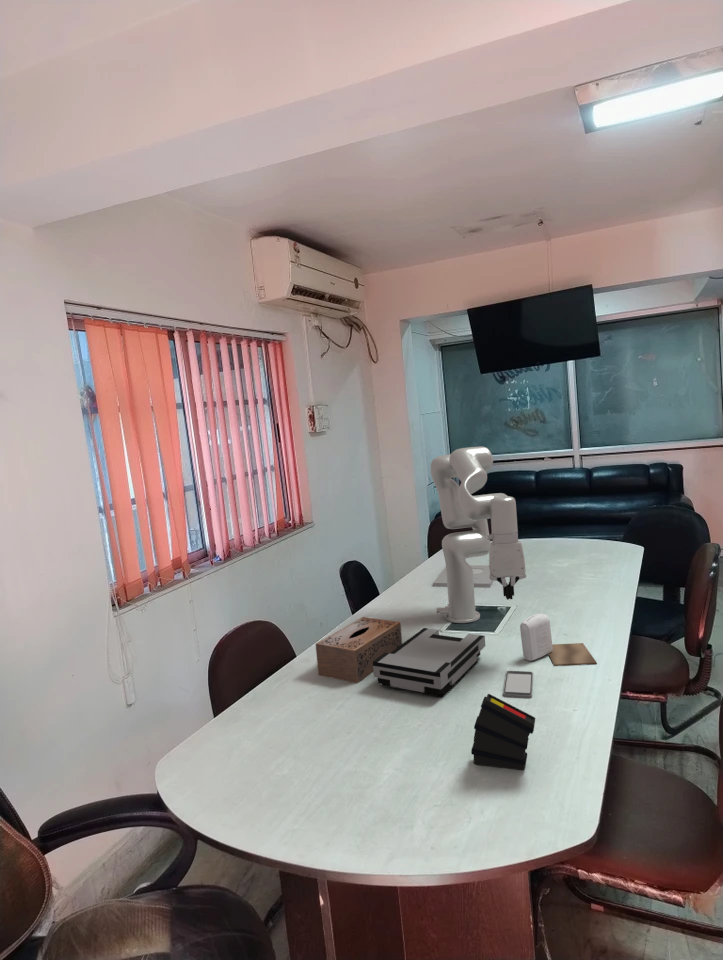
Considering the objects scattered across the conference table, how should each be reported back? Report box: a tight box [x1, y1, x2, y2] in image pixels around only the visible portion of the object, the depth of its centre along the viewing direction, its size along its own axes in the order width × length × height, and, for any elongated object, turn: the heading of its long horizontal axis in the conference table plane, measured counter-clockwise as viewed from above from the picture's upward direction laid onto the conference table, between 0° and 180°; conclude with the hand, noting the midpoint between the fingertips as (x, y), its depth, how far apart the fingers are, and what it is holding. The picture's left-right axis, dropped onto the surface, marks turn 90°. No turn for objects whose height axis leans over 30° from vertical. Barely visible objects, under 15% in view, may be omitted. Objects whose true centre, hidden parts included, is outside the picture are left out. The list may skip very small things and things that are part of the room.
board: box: [547, 642, 598, 667], centre depth 187 cm, size 12×15×1 cm
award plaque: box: [432, 564, 494, 589], centre depth 280 cm, size 25×30×2 cm
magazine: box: [471, 693, 536, 771], centre depth 133 cm, size 4×13×15 cm, turn 70°
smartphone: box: [502, 670, 534, 699], centre depth 170 cm, size 7×1×15 cm
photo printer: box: [519, 613, 553, 662], centre depth 187 cm, size 10×4×12 cm, turn 123°
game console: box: [373, 627, 486, 698], centre depth 183 cm, size 21×32×8 cm, turn 148°
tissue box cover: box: [315, 616, 403, 684], centre depth 193 cm, size 26×14×10 cm, turn 146°
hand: (509, 598), depth 186 cm, fingers closed
